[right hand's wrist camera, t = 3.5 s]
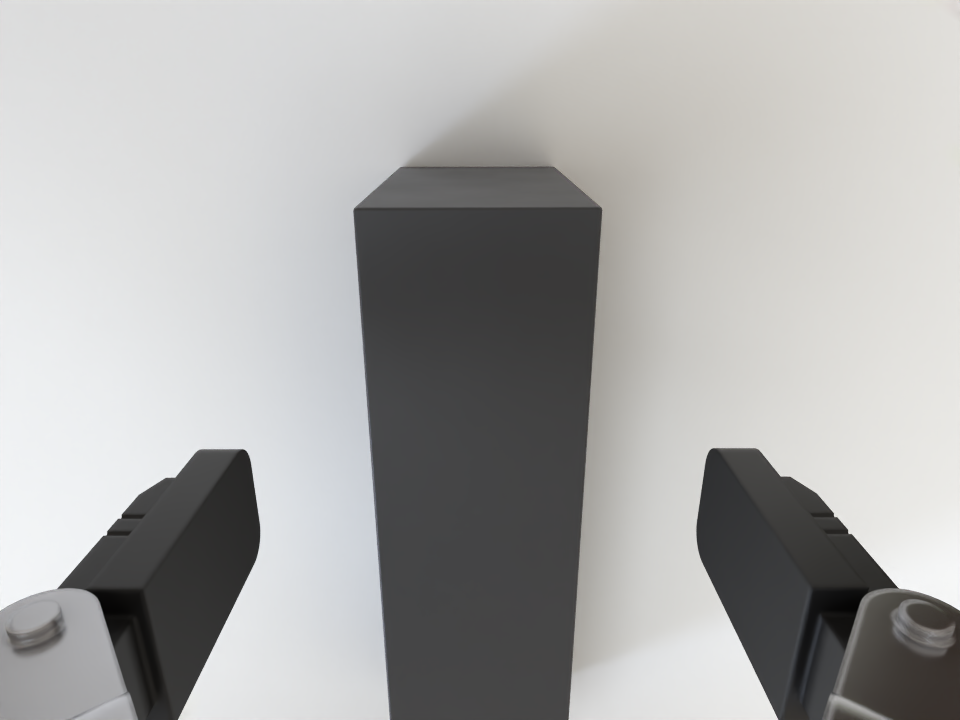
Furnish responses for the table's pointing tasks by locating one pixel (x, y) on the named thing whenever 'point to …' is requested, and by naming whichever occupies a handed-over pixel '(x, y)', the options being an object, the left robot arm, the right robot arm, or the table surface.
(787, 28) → the table surface
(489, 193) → the box
